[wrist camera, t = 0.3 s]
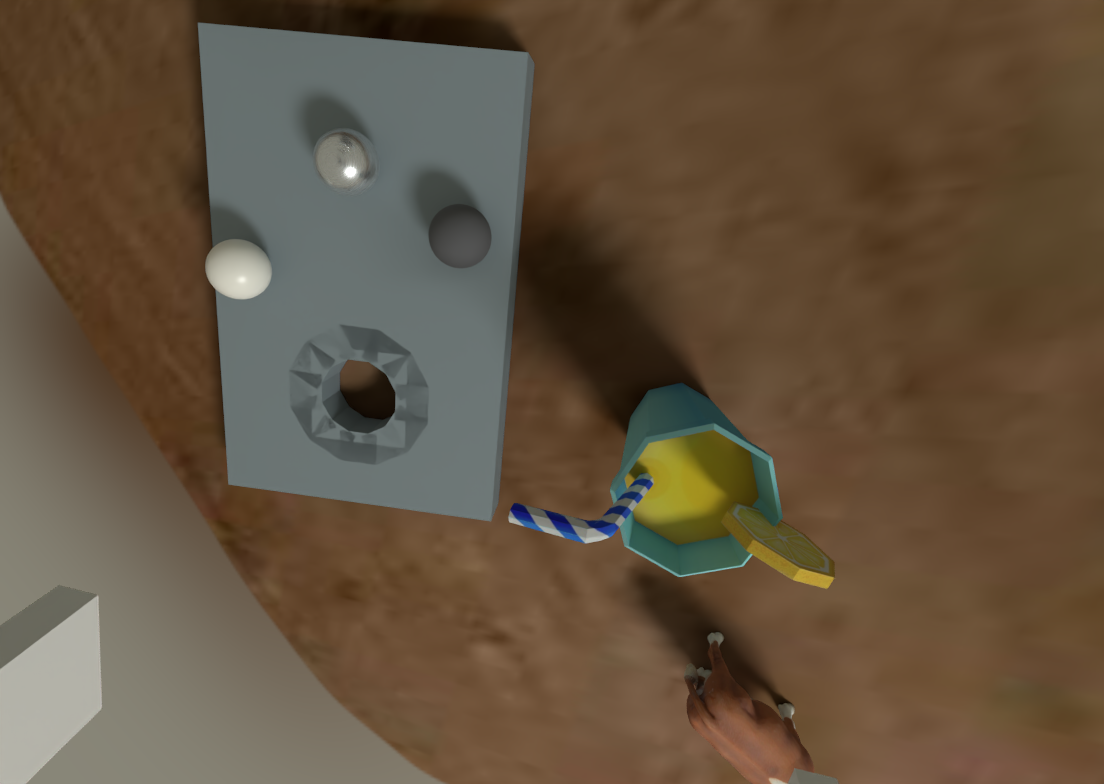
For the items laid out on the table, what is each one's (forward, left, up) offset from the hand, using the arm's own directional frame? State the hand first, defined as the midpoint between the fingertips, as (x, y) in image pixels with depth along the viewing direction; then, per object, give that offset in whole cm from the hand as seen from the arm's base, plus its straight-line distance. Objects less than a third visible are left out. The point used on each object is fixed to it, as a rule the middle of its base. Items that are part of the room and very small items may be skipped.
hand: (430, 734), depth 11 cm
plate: (-3, -11, -27) cm, 29 cm away
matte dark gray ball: (-7, -5, -23) cm, 24 cm away
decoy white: (-4, -17, -23) cm, 29 cm away
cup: (+3, +7, -27) cm, 28 cm away
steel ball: (-10, -11, -23) cm, 27 cm away
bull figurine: (+22, +16, -27) cm, 38 cm away
